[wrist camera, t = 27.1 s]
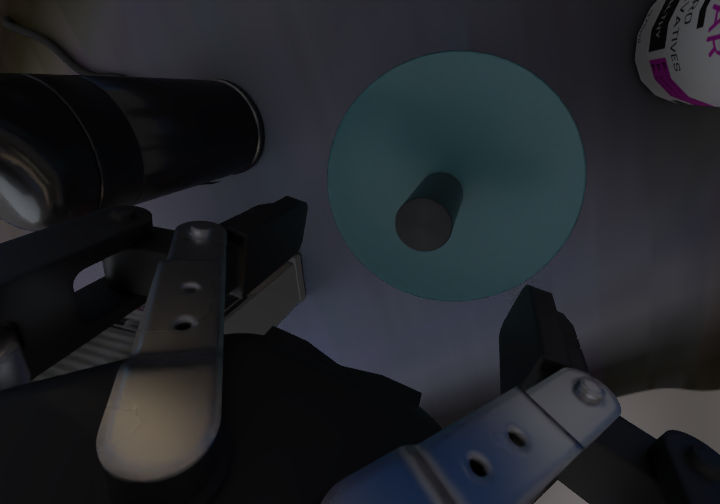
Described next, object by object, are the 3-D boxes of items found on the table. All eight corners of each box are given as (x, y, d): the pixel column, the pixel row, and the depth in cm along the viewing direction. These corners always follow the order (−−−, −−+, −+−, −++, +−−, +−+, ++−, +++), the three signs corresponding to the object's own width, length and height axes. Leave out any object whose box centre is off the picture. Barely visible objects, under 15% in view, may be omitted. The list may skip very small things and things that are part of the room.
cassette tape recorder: (300, 251, 40) (76, 434, 19) (306, 296, 42) (115, 502, 21) (207, 241, 45) (-59, 378, 23) (217, 282, 47) (-14, 440, 26)
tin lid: (318, 248, 26) (268, 291, 20) (361, 24, 19) (302, -5, 13) (509, 324, 23) (513, 400, 18) (645, 93, 16) (725, 95, 10)
